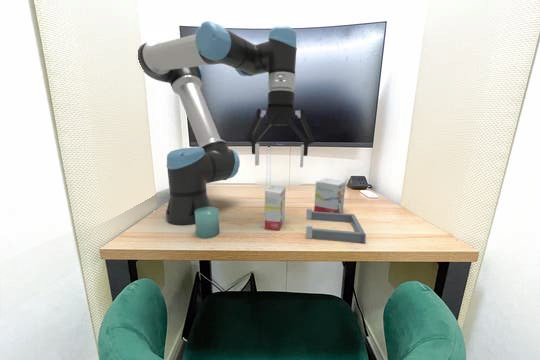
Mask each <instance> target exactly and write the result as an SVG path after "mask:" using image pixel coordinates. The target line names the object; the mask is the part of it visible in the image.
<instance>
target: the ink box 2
mask: <svg viewBox="0 0 540 360" xmlns="http://www.w3.org/2000/svg"><path fill="white" fill-rule="evenodd" d="M314 191H315V194H314V208H313V211H314V212H328V213H342V212H343V211H344V204H345V194H346V181H345V180H339V179H332V178H327V177H326V178H322V179H319V180H316V181H315V190H314Z"/></svg>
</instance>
